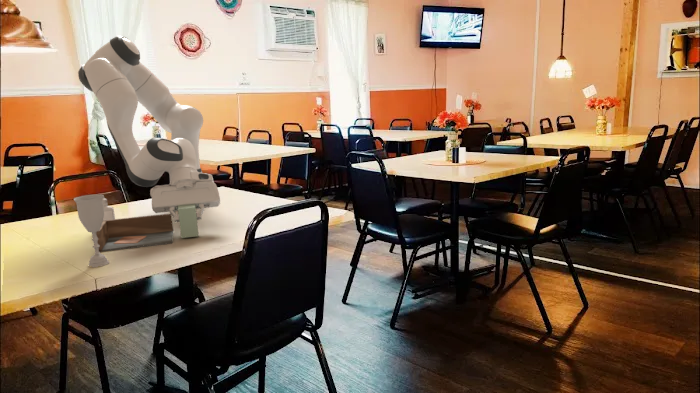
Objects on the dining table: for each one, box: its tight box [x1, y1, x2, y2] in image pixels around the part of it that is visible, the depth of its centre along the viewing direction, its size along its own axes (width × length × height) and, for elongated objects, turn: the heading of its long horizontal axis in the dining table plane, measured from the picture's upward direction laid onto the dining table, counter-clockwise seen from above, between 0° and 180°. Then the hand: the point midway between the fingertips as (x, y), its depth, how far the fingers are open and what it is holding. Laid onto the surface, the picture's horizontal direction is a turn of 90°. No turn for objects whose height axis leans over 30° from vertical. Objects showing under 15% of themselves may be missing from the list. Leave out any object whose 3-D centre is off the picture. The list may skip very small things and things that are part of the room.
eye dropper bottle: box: [102, 196, 116, 220], centre depth 170 cm, size 4×6×12 cm
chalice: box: [73, 193, 110, 268], centre depth 135 cm, size 7×7×18 cm
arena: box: [96, 213, 174, 253], centre depth 157 cm, size 14×20×6 cm
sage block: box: [177, 204, 199, 239], centre depth 159 cm, size 5×5×9 cm
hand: (188, 219), depth 158 cm, fingers closed on sage block, 5 cm apart
